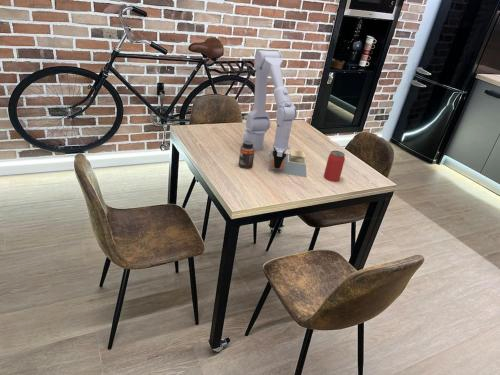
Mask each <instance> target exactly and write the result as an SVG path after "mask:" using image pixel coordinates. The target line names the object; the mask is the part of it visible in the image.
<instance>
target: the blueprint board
mask: <svg viewBox="0 0 500 375" xmlns="http://www.w3.org/2000/svg"><path fill="white" fill-rule="evenodd" d="M285 154H286V157H285V158H286V160H285V167H284V170H278V169H271V168H270V162H271V156H273V150H272V151H270V153H269V161H268V167H267V168H268V169H267V172H270V173H278V174H283V175H291V176H296V177H302V178H308V176H307V164H306V163H307V162H306V158H305V159H304V164H303V163H297V162H290V154H291V153H285Z"/></svg>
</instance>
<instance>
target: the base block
mask: <svg viewBox="0 0 500 375" xmlns="http://www.w3.org/2000/svg"><path fill="white" fill-rule="evenodd" d="M289 154H290V162H297V163H303V164H304V159H305V160H306V155H305V151H300V150H295V149H291V150H290V153H289Z"/></svg>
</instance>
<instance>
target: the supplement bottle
mask: <svg viewBox="0 0 500 375" xmlns="http://www.w3.org/2000/svg"><path fill="white" fill-rule="evenodd" d="M242 143H243V145H241V146H240V149H239V158H238V167H240V168H241V169H245V170H248V169H249V170H251V169H252V168H253V167H254V159H255V152H256V151H255V148H254V147H253V142H252V141H248V140H246V141H244V142H243V141H242Z"/></svg>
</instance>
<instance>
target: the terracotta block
mask: <svg viewBox="0 0 500 375" xmlns="http://www.w3.org/2000/svg"><path fill="white" fill-rule="evenodd" d="M285 160H286V158H284V159H283V161H282V163H281V166H280V168H275V167H274V156H271V162H270V168H271V169H278V170H284V167H285Z"/></svg>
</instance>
